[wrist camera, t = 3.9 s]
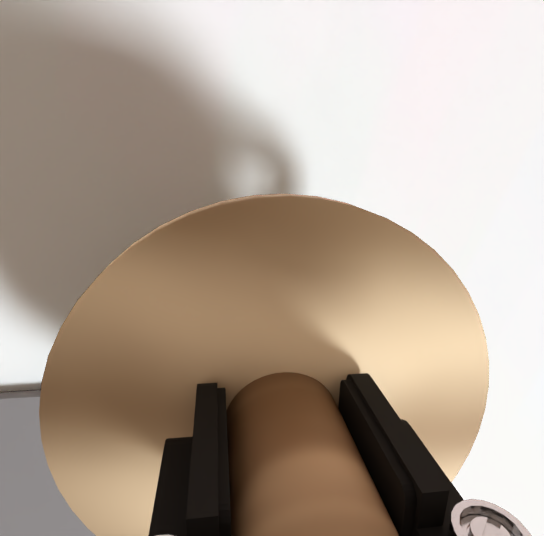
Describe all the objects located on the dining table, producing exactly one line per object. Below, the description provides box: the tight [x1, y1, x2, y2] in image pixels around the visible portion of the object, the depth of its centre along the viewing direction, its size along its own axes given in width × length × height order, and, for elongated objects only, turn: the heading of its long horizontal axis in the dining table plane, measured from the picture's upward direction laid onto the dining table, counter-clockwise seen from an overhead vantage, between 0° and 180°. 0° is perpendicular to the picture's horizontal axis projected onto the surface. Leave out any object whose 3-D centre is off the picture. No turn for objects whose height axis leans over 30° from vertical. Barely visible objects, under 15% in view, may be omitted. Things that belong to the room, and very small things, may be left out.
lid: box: [39, 194, 489, 536], centre depth 8 cm, size 12×12×6 cm
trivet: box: [0, 390, 96, 536], centre depth 21 cm, size 13×13×1 cm
